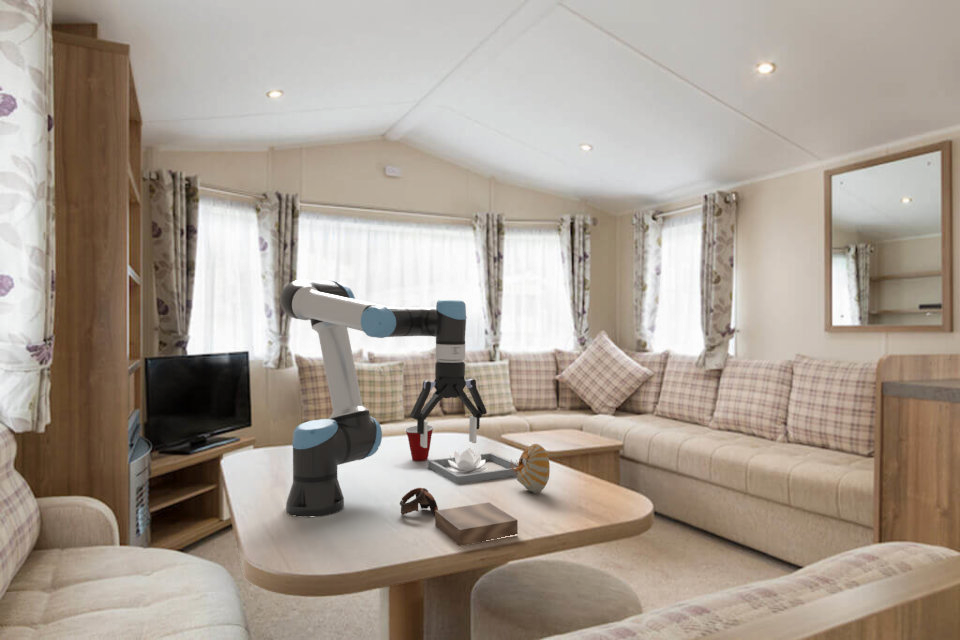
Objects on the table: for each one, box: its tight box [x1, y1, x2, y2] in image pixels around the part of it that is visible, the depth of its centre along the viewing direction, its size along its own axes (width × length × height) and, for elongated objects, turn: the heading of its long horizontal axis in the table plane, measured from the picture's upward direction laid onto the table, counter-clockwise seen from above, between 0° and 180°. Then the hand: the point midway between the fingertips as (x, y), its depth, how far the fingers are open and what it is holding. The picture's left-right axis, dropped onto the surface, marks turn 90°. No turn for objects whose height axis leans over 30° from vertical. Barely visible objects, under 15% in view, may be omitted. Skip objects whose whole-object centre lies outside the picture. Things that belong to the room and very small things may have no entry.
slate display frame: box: [427, 452, 518, 485], centre depth 202 cm, size 25×24×2 cm
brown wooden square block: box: [434, 502, 519, 547], centre depth 143 cm, size 15×15×5 cm
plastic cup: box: [404, 424, 435, 462], centre depth 219 cm, size 11×11×12 cm
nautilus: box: [510, 443, 551, 494], centre depth 179 cm, size 8×22×15 cm, turn 24°
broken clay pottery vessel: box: [399, 487, 439, 515], centre depth 156 cm, size 12×9×8 cm
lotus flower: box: [448, 447, 489, 475], centre depth 198 cm, size 14×15×9 cm
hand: (448, 444), depth 149 cm, fingers open, 13 cm apart
